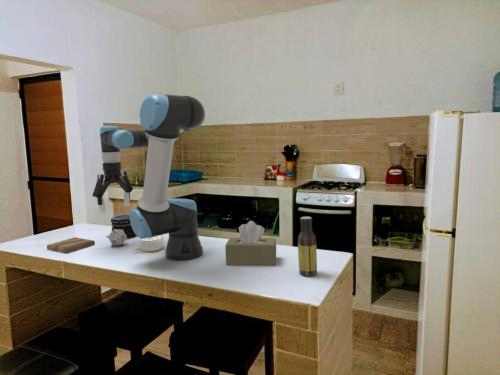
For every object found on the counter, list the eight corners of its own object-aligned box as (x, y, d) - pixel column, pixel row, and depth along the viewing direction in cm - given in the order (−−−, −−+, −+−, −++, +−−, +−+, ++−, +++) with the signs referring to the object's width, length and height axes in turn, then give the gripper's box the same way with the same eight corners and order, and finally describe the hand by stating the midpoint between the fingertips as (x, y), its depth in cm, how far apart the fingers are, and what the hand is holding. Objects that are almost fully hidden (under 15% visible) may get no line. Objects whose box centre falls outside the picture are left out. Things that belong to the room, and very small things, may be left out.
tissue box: (276, 257, 147) (276, 218, 145) (275, 266, 138) (274, 224, 136) (229, 257, 150) (228, 218, 147) (225, 265, 140) (223, 224, 138)
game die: (123, 252, 171) (135, 233, 173) (114, 251, 163) (127, 231, 164) (108, 242, 173) (120, 223, 174) (98, 240, 165) (112, 221, 166)
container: (133, 239, 179) (132, 219, 177) (107, 240, 179) (105, 219, 178) (142, 232, 191) (141, 213, 190) (117, 233, 192) (116, 214, 190)
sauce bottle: (314, 270, 132) (314, 215, 129) (318, 276, 126) (318, 219, 123) (296, 271, 132) (296, 215, 129) (300, 277, 126) (299, 219, 123)
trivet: (94, 245, 171) (94, 240, 171) (66, 253, 159) (66, 248, 159) (75, 241, 178) (75, 236, 178) (47, 249, 166) (46, 244, 166)
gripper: (127, 159, 176) (130, 203, 179) (80, 164, 155) (85, 214, 158) (139, 159, 173) (142, 204, 176) (92, 164, 151) (97, 215, 154)
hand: (115, 209), depth 167 cm, fingers open, 13 cm apart
